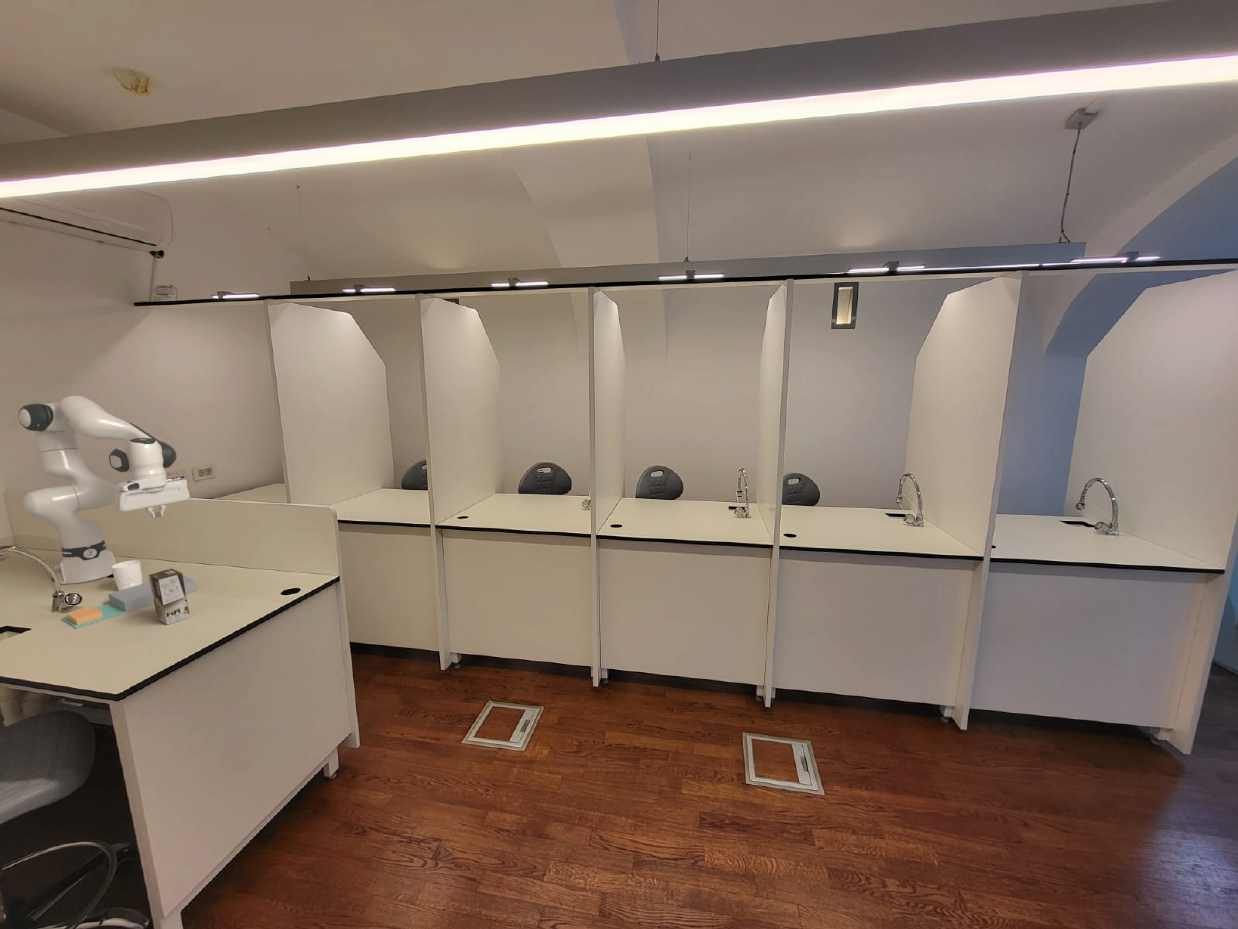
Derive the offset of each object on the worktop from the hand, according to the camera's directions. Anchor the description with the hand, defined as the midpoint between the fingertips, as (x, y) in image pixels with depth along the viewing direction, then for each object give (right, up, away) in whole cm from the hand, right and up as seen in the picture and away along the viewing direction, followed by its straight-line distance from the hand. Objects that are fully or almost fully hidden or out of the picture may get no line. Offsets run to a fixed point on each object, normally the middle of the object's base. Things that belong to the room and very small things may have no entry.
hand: (157, 517), depth 179 cm
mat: (-7, -33, -15) cm, 37 cm away
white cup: (-17, -29, +6) cm, 34 cm away
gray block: (0, -30, -1) cm, 30 cm away
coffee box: (+22, -33, -17) cm, 43 cm away
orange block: (-8, -31, -18) cm, 36 cm away
